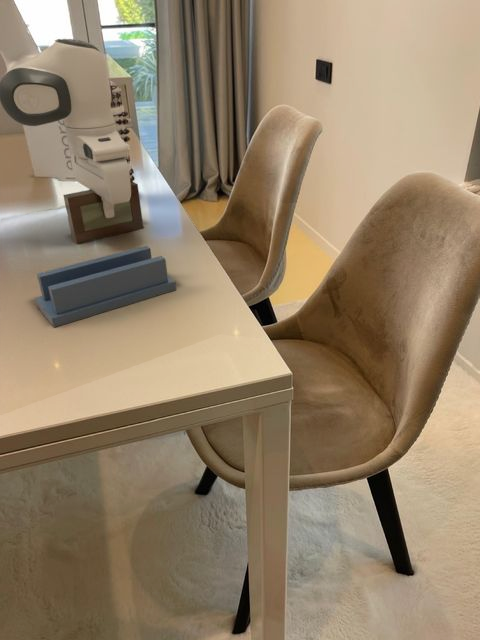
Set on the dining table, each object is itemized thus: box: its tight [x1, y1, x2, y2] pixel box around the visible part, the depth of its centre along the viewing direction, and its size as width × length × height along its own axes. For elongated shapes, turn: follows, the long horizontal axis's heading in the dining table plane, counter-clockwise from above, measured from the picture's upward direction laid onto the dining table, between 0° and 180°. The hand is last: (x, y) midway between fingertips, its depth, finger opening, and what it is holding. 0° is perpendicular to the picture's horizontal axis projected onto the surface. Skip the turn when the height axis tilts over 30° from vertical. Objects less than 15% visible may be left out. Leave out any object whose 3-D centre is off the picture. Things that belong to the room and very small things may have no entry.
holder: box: [34, 245, 177, 328], centre depth 87 cm, size 8×20×6 cm, turn 126°
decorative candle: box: [109, 80, 136, 182], centre depth 122 cm, size 9×9×25 cm
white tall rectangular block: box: [22, 45, 77, 182], centre depth 137 cm, size 14×6×30 cm, turn 82°
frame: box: [62, 181, 144, 245], centre depth 109 cm, size 2×14×9 cm, turn 126°
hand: (105, 214), depth 109 cm, fingers closed on frame, 2 cm apart
